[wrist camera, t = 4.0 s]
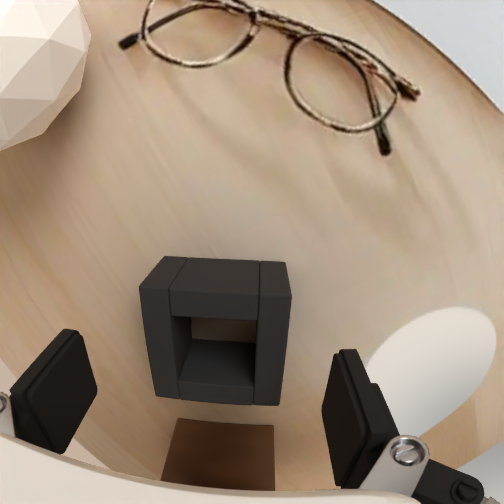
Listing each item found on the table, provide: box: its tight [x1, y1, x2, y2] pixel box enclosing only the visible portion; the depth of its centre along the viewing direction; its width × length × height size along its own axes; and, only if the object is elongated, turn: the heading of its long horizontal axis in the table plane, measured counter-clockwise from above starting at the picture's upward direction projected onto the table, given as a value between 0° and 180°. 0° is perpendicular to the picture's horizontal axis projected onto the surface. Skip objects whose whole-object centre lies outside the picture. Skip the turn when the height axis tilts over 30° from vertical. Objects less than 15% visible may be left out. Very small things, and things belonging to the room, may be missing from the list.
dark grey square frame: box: [139, 256, 292, 406], centre depth 13 cm, size 6×6×3 cm
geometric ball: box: [0, 0, 92, 151], centre depth 8 cm, size 8×8×8 cm
